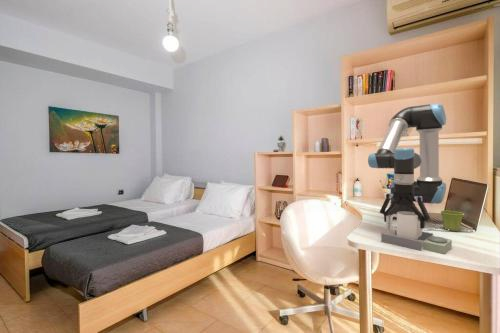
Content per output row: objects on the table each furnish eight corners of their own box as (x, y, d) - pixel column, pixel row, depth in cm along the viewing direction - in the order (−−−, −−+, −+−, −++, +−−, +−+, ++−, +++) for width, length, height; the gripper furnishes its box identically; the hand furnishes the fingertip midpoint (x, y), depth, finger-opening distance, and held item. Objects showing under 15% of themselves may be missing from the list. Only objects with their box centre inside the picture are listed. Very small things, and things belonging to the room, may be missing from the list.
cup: (413, 241, 106) (413, 216, 106) (384, 233, 116) (384, 211, 116) (422, 237, 111) (422, 213, 110) (394, 230, 121) (394, 209, 120)
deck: (395, 233, 123) (395, 225, 123) (453, 245, 107) (453, 236, 106) (381, 241, 113) (381, 232, 113) (442, 255, 96) (442, 245, 96)
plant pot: (448, 226, 134) (448, 209, 134) (468, 231, 126) (468, 213, 125) (435, 228, 132) (435, 211, 131) (455, 233, 123) (455, 215, 122)
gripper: (371, 182, 119) (371, 228, 120) (434, 186, 101) (433, 241, 102) (379, 181, 124) (378, 225, 125) (439, 184, 106) (438, 236, 107)
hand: (403, 232), depth 113 cm, fingers closed on cup, 12 cm apart
